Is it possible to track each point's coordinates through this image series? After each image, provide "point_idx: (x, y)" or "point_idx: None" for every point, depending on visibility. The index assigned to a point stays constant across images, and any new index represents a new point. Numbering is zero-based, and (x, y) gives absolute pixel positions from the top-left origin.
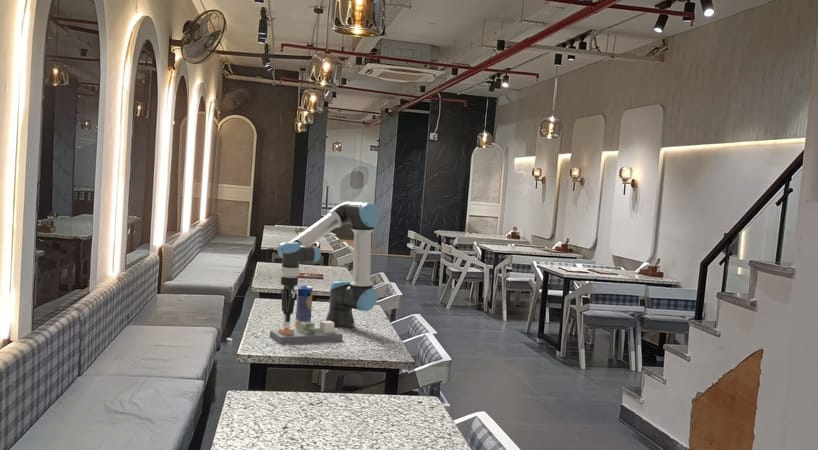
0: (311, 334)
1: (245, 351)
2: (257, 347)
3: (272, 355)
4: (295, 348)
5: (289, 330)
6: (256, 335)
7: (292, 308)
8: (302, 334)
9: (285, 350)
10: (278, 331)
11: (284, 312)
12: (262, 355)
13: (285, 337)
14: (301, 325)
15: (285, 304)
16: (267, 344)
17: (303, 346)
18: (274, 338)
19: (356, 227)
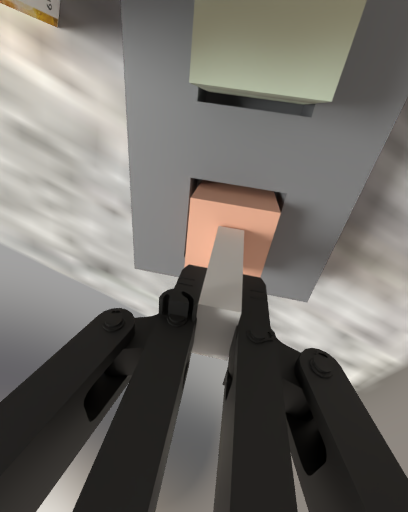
0: (374, 26)
1: None
2: None
3: (402, 360)
4: (382, 232)
5: (270, 241)
6: (75, 257)
7: (383, 470)
8: (318, 129)
9: (377, 291)
10: (167, 242)
11: (189, 361)
12: (374, 379)
13: (316, 280)
14: (241, 91)
15: (158, 492)
16: None
17: (380, 163)
18: None
19: None
